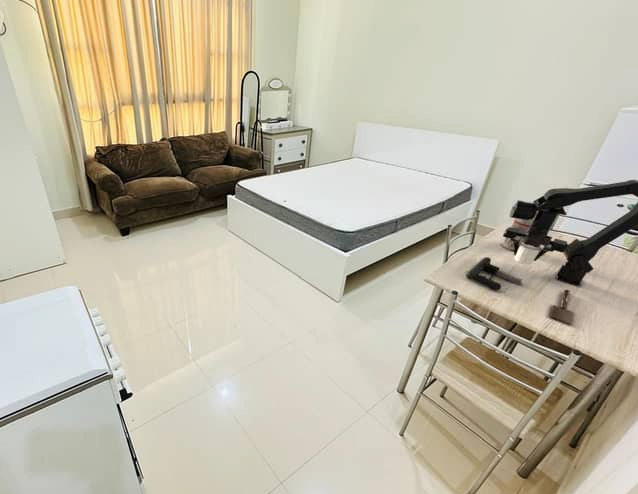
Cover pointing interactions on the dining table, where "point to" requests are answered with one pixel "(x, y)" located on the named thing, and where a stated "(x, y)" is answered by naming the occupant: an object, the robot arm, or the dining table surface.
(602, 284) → the dining table surface
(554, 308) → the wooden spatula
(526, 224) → the spray can
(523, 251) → the white cup
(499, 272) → the door handle
